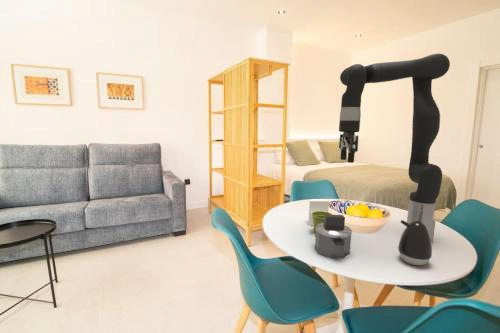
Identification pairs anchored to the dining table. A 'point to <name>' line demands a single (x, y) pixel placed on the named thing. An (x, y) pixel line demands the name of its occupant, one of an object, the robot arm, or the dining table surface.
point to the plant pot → (319, 217)
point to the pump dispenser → (415, 243)
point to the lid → (334, 227)
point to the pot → (332, 246)
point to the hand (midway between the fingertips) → (346, 161)
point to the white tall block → (317, 208)
